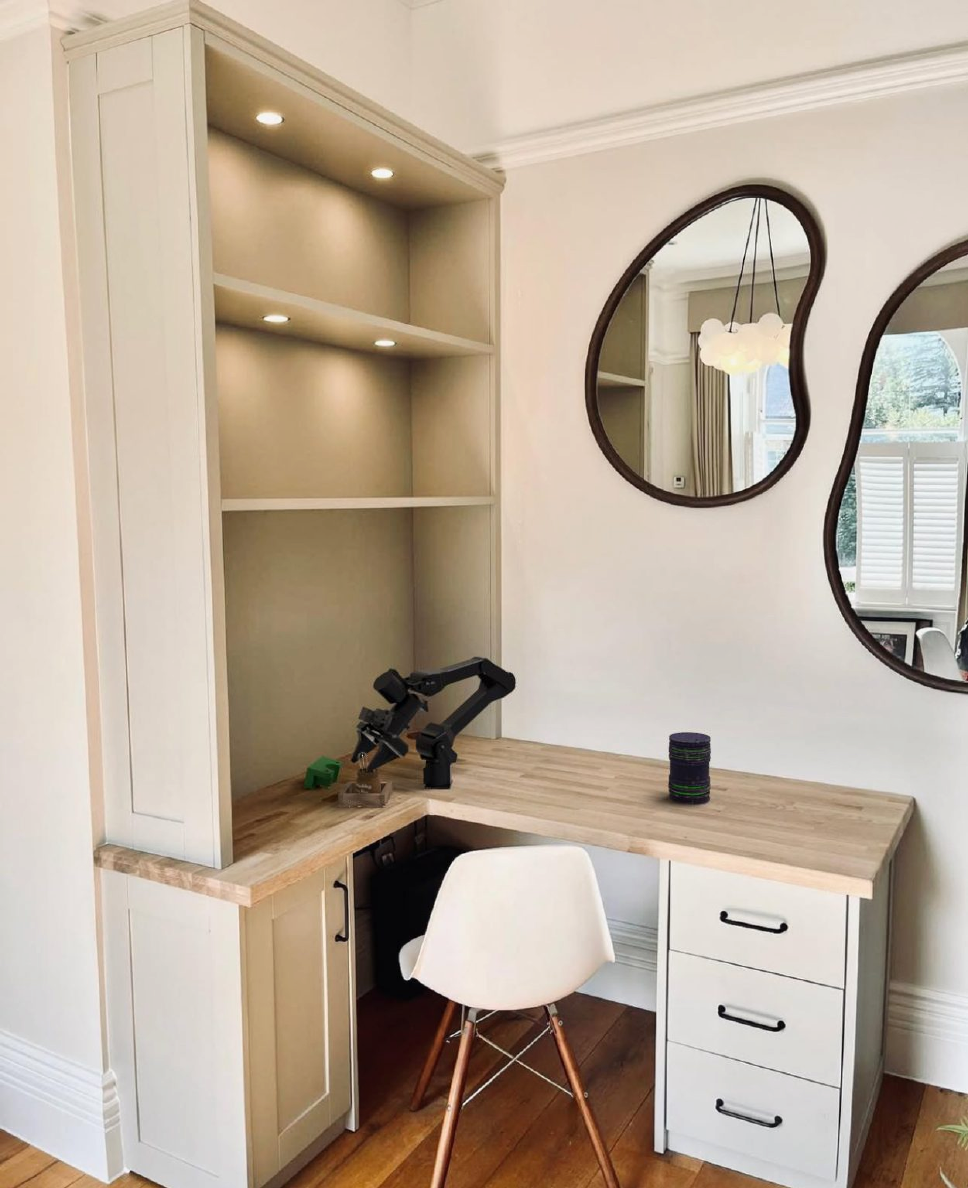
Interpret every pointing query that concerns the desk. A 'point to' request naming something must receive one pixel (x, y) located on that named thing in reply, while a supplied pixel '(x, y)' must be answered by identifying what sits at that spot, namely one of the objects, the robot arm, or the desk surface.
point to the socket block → (364, 796)
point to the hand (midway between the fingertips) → (359, 766)
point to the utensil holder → (368, 780)
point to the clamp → (322, 772)
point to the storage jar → (689, 768)
